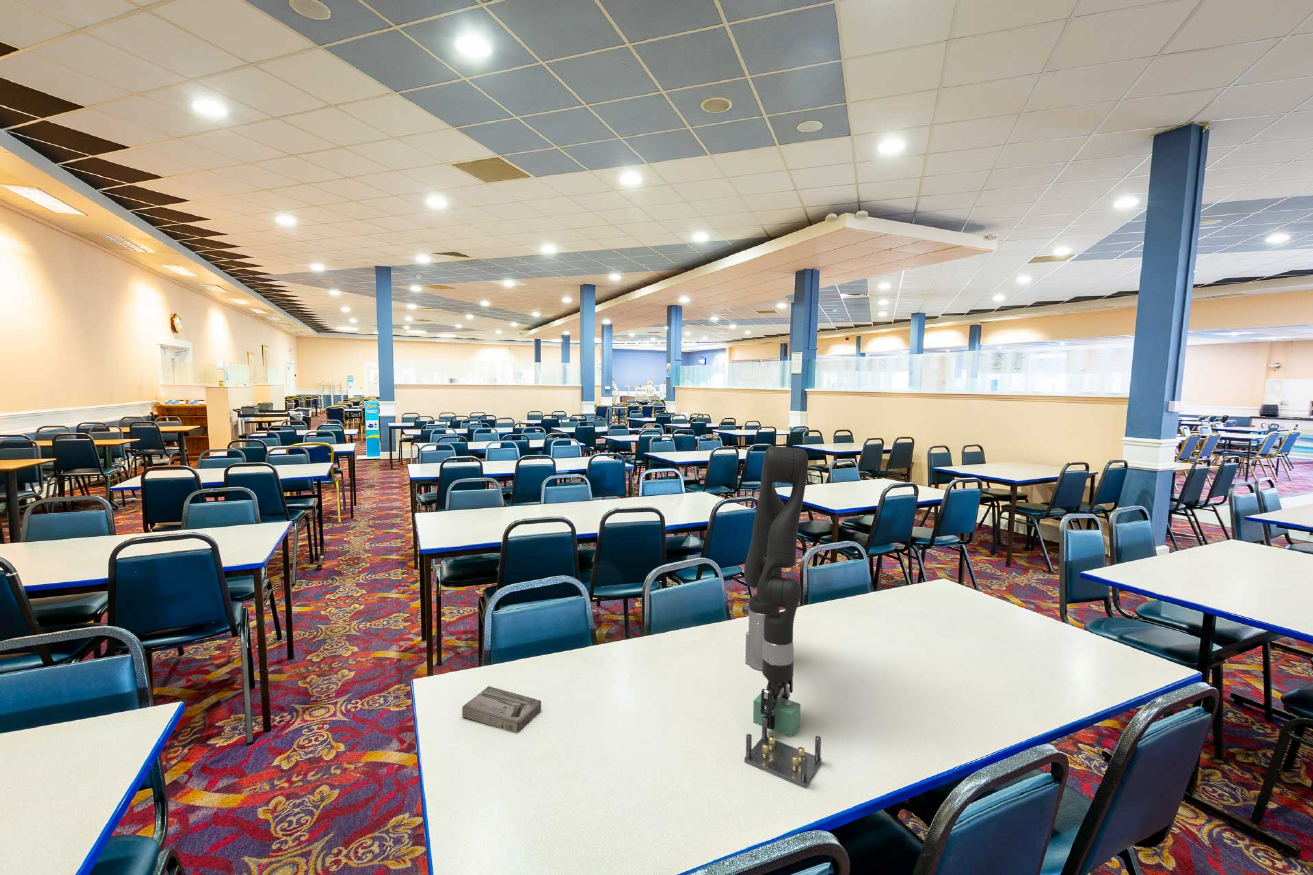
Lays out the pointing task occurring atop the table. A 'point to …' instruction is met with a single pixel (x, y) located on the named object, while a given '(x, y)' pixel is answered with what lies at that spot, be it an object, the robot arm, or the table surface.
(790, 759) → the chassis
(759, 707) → the module block
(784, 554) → the robot arm
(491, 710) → the box
